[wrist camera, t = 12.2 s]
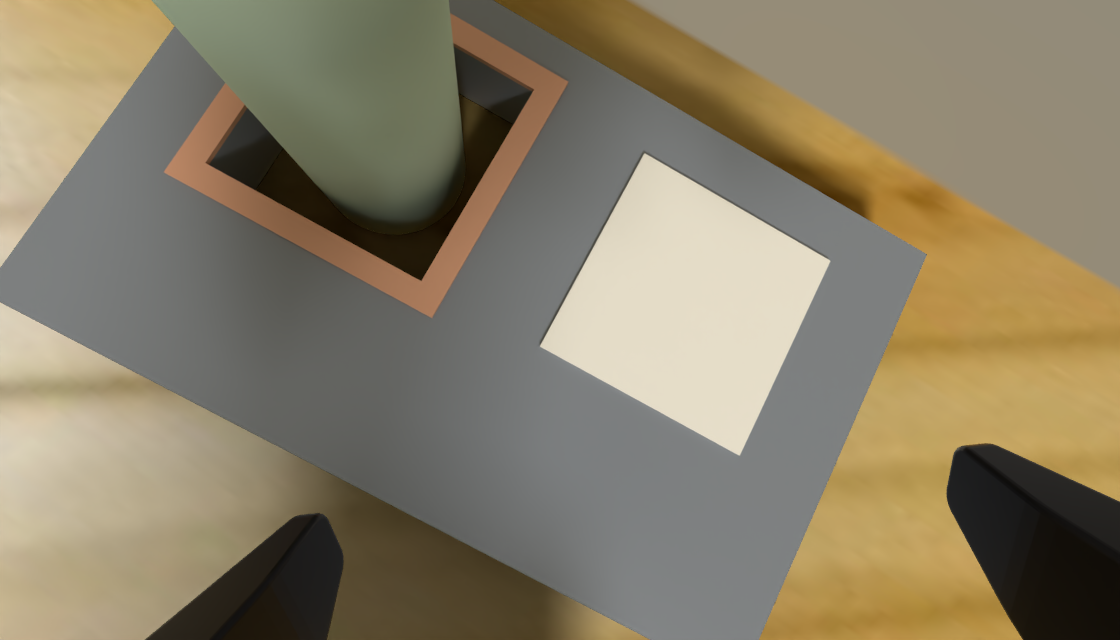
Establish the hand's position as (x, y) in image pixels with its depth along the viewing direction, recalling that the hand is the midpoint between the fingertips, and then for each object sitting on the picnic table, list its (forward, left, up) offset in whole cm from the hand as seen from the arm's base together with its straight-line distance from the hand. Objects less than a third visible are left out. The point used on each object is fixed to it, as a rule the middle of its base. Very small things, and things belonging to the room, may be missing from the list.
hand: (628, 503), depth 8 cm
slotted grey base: (0, +5, -12) cm, 13 cm away
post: (-2, +11, -12) cm, 16 cm away
